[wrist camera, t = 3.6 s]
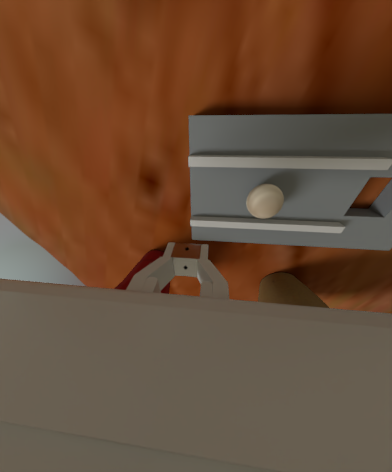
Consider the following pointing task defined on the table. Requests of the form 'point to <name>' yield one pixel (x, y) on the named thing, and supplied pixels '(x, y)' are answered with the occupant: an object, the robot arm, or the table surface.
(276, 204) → the ball
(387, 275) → the table surface
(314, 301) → the plant pot
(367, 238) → the hole board
